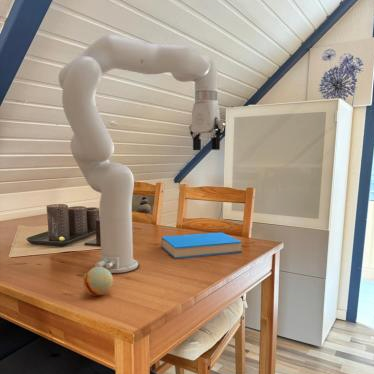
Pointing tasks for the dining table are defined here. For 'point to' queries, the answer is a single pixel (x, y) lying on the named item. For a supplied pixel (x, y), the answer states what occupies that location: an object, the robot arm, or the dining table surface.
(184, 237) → the book
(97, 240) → the bookend
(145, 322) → the dining table surface
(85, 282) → the ball
